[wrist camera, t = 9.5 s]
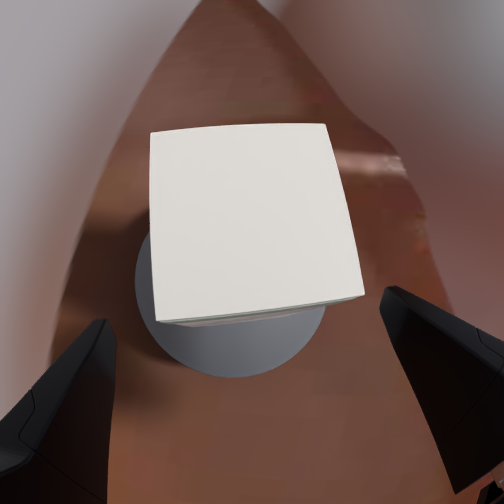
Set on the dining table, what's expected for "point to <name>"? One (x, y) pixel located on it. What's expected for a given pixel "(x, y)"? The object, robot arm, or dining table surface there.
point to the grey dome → (224, 334)
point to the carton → (248, 224)
